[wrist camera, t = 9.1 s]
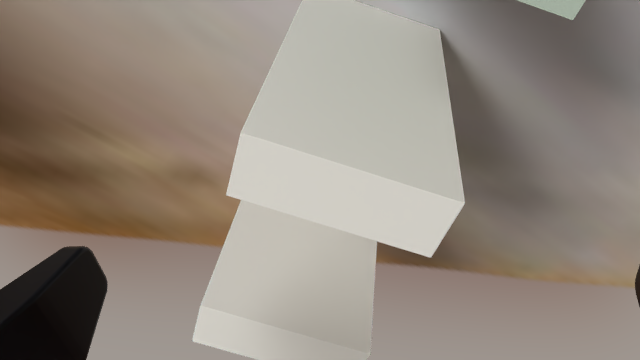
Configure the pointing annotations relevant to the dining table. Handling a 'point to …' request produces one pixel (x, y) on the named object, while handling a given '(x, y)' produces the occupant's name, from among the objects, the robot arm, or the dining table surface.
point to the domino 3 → (558, 6)
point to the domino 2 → (289, 290)
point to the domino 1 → (355, 128)
